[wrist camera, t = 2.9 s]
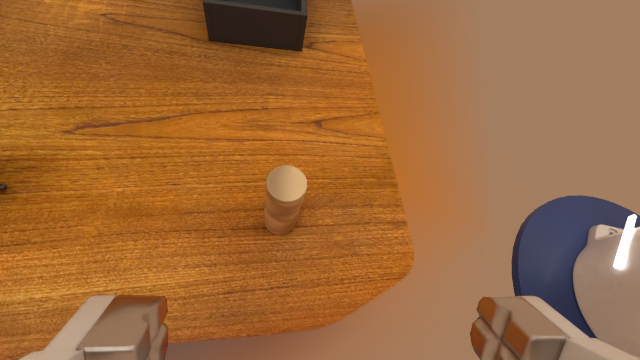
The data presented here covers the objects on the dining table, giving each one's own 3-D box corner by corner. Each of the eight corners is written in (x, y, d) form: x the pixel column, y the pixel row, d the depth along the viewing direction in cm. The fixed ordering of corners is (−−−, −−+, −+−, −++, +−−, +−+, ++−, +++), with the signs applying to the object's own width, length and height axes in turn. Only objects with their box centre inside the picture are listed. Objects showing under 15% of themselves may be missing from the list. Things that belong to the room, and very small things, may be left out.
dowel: (296, 204, 37) (306, 165, 29) (296, 234, 35) (307, 202, 27) (264, 203, 36) (266, 163, 28) (263, 234, 35) (265, 200, 27)
